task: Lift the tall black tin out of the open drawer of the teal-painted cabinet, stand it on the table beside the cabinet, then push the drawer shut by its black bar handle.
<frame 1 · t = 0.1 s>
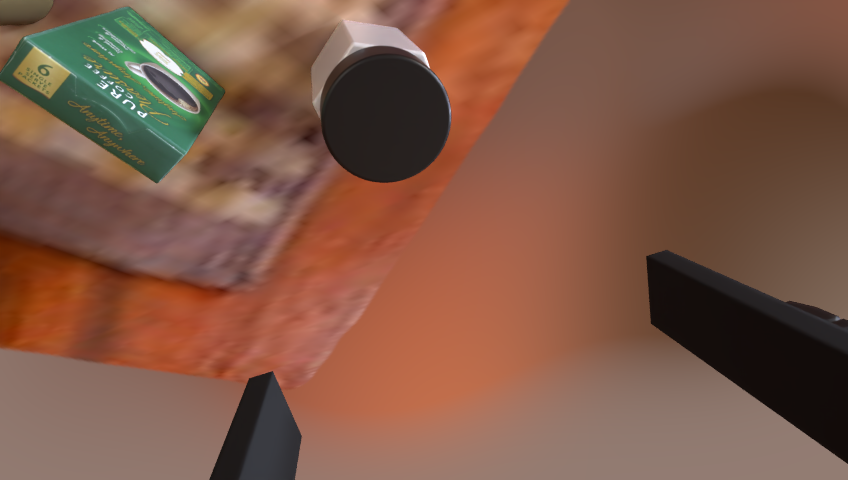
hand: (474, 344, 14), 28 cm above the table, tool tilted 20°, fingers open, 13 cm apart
jar: (365, 74, 35), on the table
coffee box: (169, 61, 31), on the table
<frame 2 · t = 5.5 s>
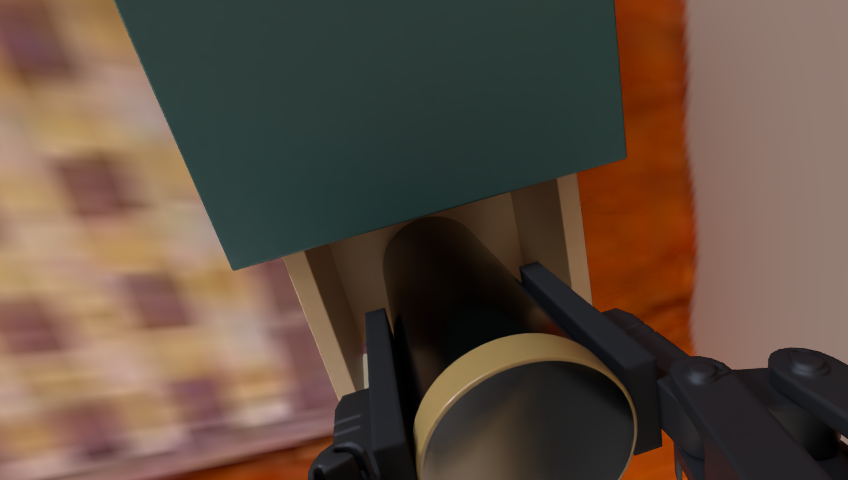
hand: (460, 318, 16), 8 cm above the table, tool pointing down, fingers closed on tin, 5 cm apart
tin: (432, 264, 21), point 2 cm above the table, touching drawer, gripper
drawer: (444, 292, 19), point 4 cm above the table, slide at 9.0 cm, touching tin
cabinet: (363, 12, 19), on the table
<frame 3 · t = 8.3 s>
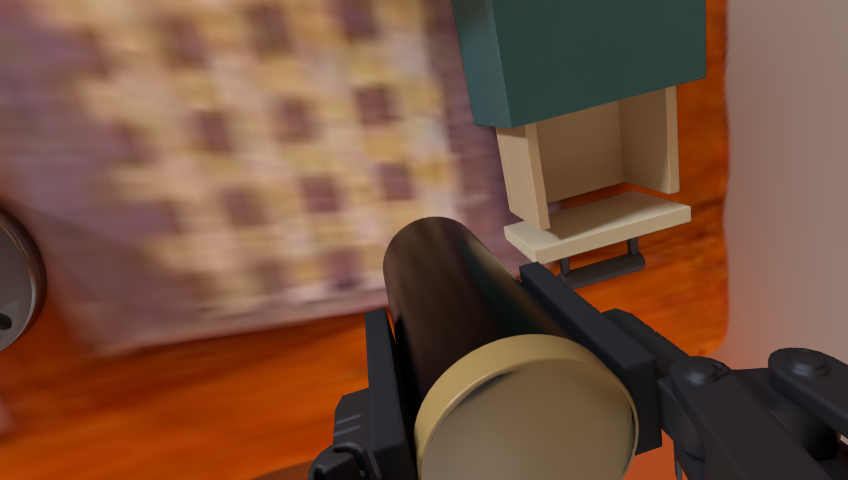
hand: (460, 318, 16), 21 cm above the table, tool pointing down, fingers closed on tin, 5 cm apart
tin: (433, 265, 21), point 15 cm above the table, touching gripper
drawer: (584, 170, 32), point 4 cm above the table, slide at 9.0 cm
cabinet: (538, 3, 32), on the table
when the fingers open (6 cm above the table, at t = 11.2 s): tin stays where it is, on the table.
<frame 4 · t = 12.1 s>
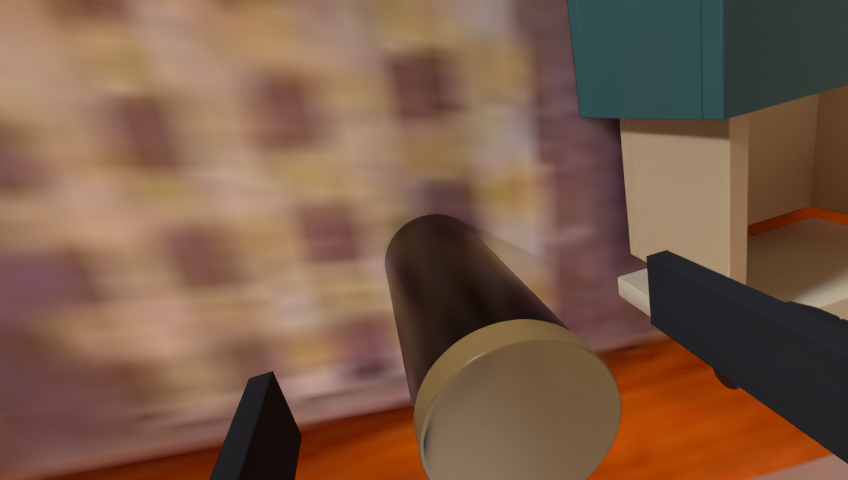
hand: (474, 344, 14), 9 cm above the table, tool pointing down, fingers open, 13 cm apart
tin: (433, 261, 22), on the table
drawer: (776, 191, 19), point 4 cm above the table, slide at 9.0 cm
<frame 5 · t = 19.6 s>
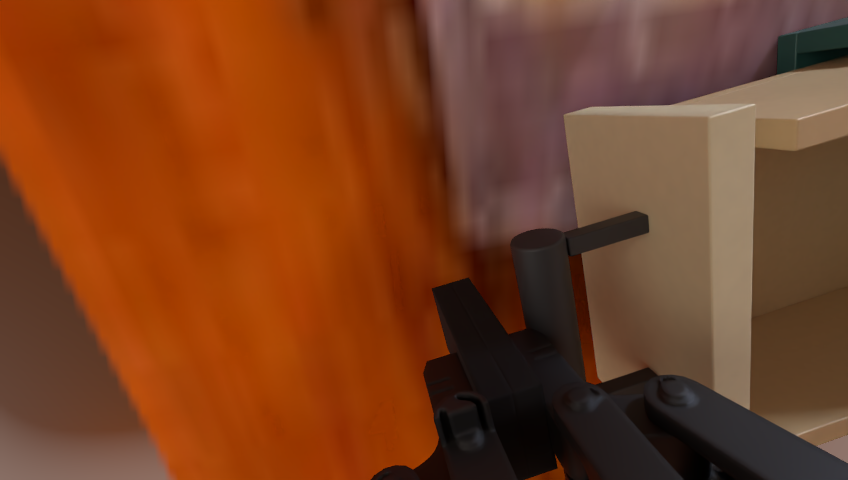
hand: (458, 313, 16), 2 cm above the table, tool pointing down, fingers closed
drawer: (764, 252, 15), point 4 cm above the table, slide at 8.9 cm, touching gripper
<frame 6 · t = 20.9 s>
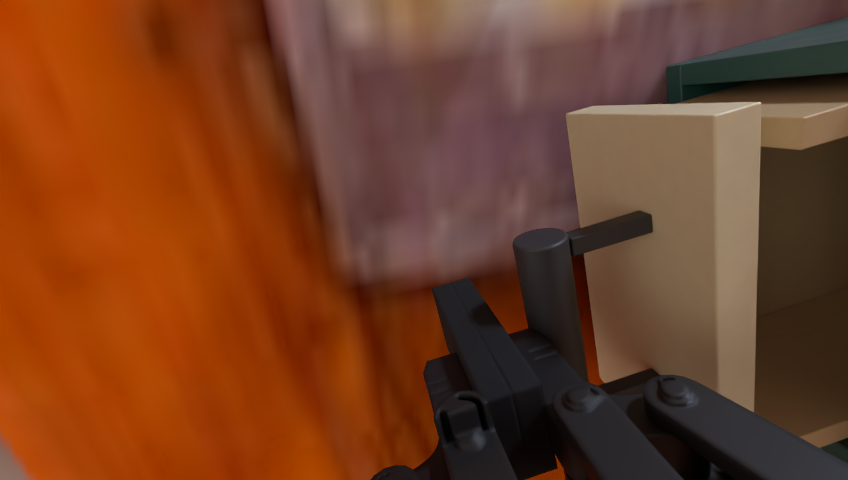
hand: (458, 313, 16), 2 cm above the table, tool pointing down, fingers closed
drawer: (768, 252, 15), point 4 cm above the table, slide at 3.7 cm, touching gripper
cabinet: (824, 177, 19), on the table
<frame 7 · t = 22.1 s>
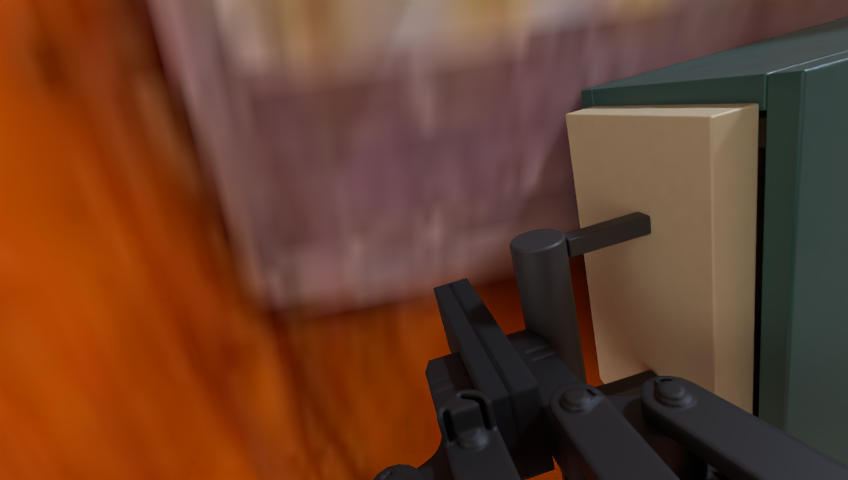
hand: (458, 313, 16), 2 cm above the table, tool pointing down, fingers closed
drawer: (769, 254, 14), point 4 cm above the table, slide at 0.0 cm, touching cabinet, gripper
cabinet: (757, 199, 19), on the table
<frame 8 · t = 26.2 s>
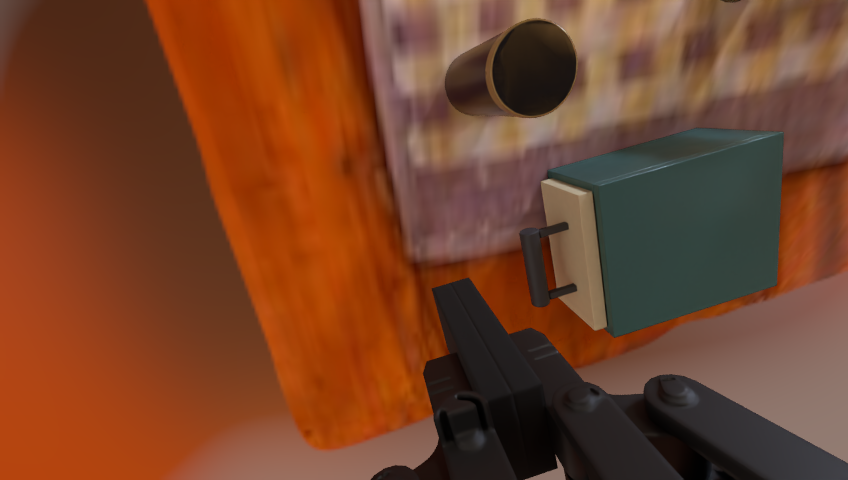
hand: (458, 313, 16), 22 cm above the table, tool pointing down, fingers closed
tin: (474, 83, 35), on the table
drawer: (619, 237, 37), point 4 cm above the table, slide at 0.0 cm, touching cabinet
cabinet: (628, 214, 41), on the table
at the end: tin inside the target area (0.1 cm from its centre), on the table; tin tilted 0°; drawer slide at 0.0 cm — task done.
